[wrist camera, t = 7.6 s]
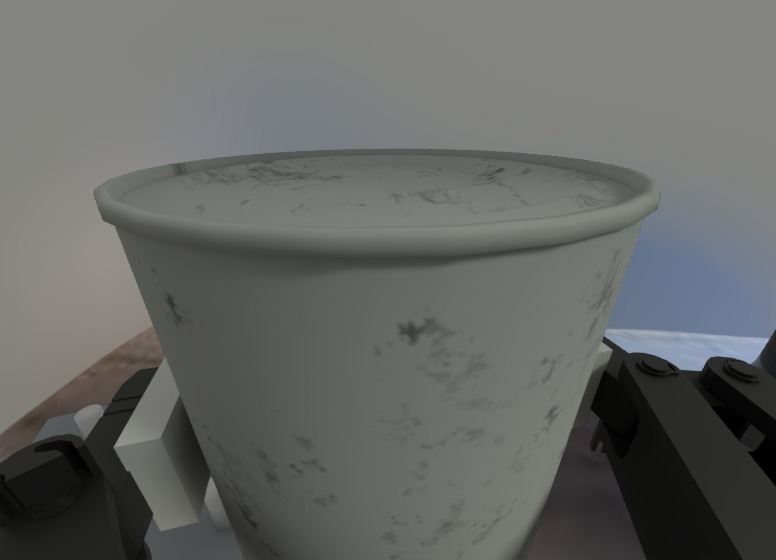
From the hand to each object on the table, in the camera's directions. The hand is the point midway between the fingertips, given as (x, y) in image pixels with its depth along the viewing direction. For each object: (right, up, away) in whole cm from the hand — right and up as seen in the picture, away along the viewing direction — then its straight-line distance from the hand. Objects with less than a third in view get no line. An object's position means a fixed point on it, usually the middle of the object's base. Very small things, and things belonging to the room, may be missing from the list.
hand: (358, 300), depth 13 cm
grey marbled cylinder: (+1, -8, -1) cm, 8 cm away
